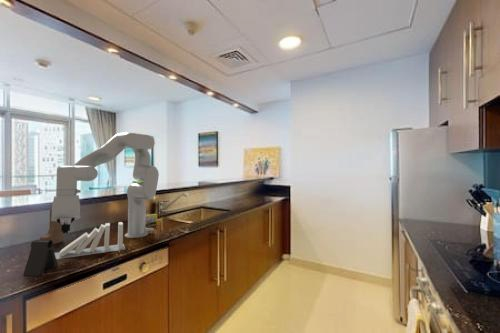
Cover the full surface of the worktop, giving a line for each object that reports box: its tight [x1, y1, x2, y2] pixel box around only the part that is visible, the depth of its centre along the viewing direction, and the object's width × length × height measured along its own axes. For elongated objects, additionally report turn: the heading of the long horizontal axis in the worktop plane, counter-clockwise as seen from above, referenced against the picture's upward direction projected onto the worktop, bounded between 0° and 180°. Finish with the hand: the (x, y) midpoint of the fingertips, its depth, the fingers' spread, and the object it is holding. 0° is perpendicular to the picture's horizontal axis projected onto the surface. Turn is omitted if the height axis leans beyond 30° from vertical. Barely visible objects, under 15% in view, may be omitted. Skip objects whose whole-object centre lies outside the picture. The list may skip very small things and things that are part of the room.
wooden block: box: [39, 208, 65, 245], centre depth 126 cm, size 9×4×18 cm, turn 167°
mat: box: [54, 243, 126, 260], centre depth 115 cm, size 30×10×1 cm, turn 122°
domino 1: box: [59, 231, 90, 257], centre depth 112 cm, size 2×6×12 cm
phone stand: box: [22, 239, 59, 277], centre depth 93 cm, size 9×6×12 cm, turn 1°
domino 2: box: [75, 227, 99, 254], centre depth 114 cm, size 2×6×12 cm
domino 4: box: [103, 222, 111, 251], centre depth 119 cm, size 2×6×12 cm, turn 32°
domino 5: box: [117, 221, 124, 249], centre depth 122 cm, size 2×6×12 cm, turn 32°
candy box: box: [145, 213, 158, 228], centre depth 165 cm, size 16×2×8 cm, turn 137°
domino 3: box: [89, 223, 105, 252], centre depth 116 cm, size 2×6×12 cm, turn 33°
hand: (65, 232), depth 110 cm, fingers closed
